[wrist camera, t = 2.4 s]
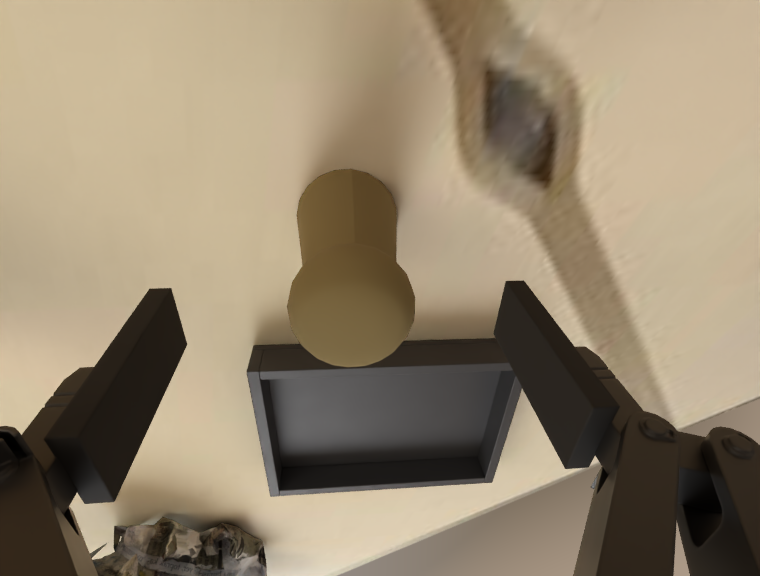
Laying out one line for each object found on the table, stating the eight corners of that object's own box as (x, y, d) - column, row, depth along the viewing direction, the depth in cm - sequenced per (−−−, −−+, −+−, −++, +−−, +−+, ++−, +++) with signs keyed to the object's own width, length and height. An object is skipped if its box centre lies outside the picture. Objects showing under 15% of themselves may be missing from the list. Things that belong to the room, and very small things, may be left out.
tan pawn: (372, 275, 27) (390, 404, 17) (283, 243, 25) (251, 368, 16) (414, 193, 24) (462, 295, 15) (317, 151, 22) (303, 237, 13)
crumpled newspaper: (178, 622, 45) (54, 695, 31) (181, 512, 49) (74, 533, 35) (278, 606, 43) (194, 675, 30) (272, 495, 48) (197, 511, 34)
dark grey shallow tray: (516, 337, 31) (530, 362, 29) (483, 456, 39) (492, 482, 36) (253, 345, 29) (246, 371, 27) (274, 468, 37) (270, 497, 35)
